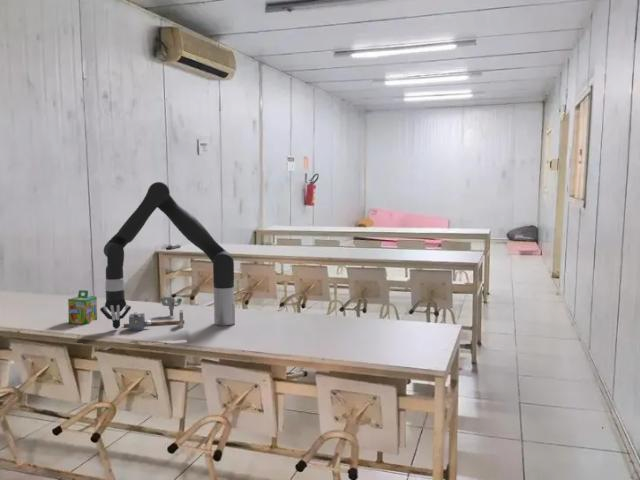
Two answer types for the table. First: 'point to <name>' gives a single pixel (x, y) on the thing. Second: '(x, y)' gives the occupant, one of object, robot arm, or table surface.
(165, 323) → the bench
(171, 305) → the mechanical component
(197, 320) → the table surface
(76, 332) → the table surface
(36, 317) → the table surface
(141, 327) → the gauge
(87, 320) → the chalk box
